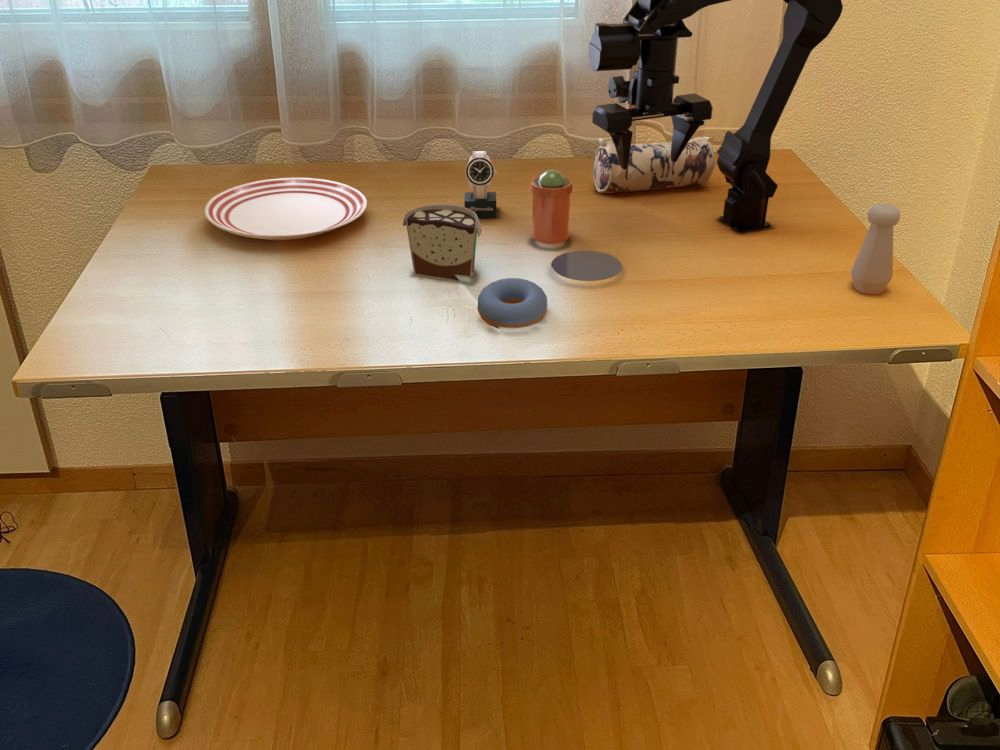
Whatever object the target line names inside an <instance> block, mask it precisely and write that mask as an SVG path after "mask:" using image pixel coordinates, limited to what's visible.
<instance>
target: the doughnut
mask: <svg viewBox="0 0 1000 750" xmlns="http://www.w3.org/2000/svg"><path fill="white" fill-rule="evenodd" d="M476 309H477V312H478V314H479V316H480V318H481V320H482V321H484V322H485V323H486V324H487V325H489V326H491V327H493V328H495V329H496V330H497V329H498V330H501V327H503V328H523V327H527V326H531V325H534V324H537V323H538V322H539V321H541V320H542V319H543V318H544V317H545V315H546V313H547V310H548V297H547V295H546V293H545V291H544V290H543V288H542V287H540V286H539V285H538V284H537V283H535V282H534V281H531V280H528V279H524V278H519V277H506V278H501V279H497V280H495V281H492V282H490V283H488V284H487V285H486V286H485V287H483V288H482V290H481V291H480V292H479V294H478V296H477V307H476Z"/></svg>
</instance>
